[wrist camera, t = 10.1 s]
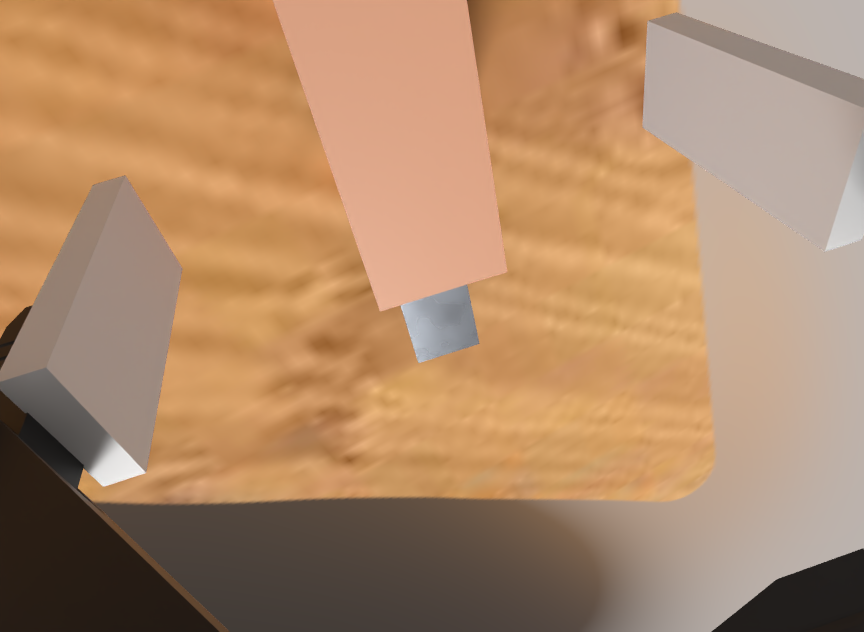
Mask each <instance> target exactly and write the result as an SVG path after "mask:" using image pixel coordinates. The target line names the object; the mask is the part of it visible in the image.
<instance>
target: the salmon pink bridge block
mask: <svg viewBox="0 0 864 632" xmlns="http://www.w3.org/2000/svg"><path fill="white" fill-rule="evenodd" d="M273 3H274V6H275V8H276V11H277V14H278V17H279V20H280V23H281V26H282V29H283V32H284V34H285V37H286V40H287V43H288V46H289V49H290V52H291V55H292V58H293V61H294V63H295V66H296V69H297V72H298V75H299V78H300V81H301V84H302V87H303V90H304V92H305V95H306V98H307V101H308V104H309V107H310V110H311V113H312V116H313V119H314V121H315V124H316V127H317V130H318V133H319V136H320V139H321V142H322V145H323V147H324V150H325V153H326V156H327V159H328V162H329V165H330V168H331V171H332V174H333V176H334V179H335V182H336V185H337V188H338V191H339V194H340V197H341V200H342V203H343V205H344V208H345V211H346V214H347V217H348V220H349V223H350V226H351V229H352V231H353V234H354V237H355V240H356V243H357V246H358V249H359V252H360V255H361V258H362V260H363V263H364V266H365V269H366V272H367V275H368V278H369V281H370V284H371V287H372V289H373V292H374V295H375V298H376V301H377V304H378V307H379V310H380V311H383V310H387V309H390V308H393V307H396V306H399V305H403V304H406V303H409V302H412V301H415V300H419V299H422V298H425V297H428V296H432V295H435V294H438V293H441V292H444V291H448V290H451V289H454V288H457V287H461V286H464V285H467V284H470V283H473V282H477V281H480V280H483V279H486V278H490V277H493V276H496V275H499V274H502V273H506V272H507V267H506V260H505V254H504V247H503V240H502V233H501V227H500V220H499V213H498V206H497V200H496V193H495V186H494V180H493V173H492V166H491V159H490V153H489V146H488V139H487V132H486V126H485V119H484V112H483V106H482V99H481V92H480V85H479V79H478V72H477V65H476V58H475V52H474V45H473V38H472V32H471V25H470V18H469V11H468V5H467V0H273Z"/></svg>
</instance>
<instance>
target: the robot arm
mask: <svg viewBox="0 0 864 632" xmlns="http://www.w3.org/2000/svg"><path fill="white" fill-rule="evenodd" d="M643 128H644V129H646V130H647V131H649V132H650V133H652V134H653V135H654V136H656V137H657V138H659V139H660V140H662V141H663V142H665V143H666V144H668V145H669V146H671V147H672V148H674V149H675V150H676V151H678V152H679V153H681V154H682V155H684V156H685V157H687V158H688V159H690V160H691V161H693V162H694V163H696V164H697V165H698V166H700V167H701V168H703V169H704V170H706V171H707V172H709V173H710V174H712V175H713V176H715V177H716V178H718V179H719V180H721V181H722V182H724V183H725V184H727V185H728V186H729V187H731V188H732V189H734V190H735V191H737V192H738V193H740V194H741V195H742V196H744V197H745V198H747V199H748V200H750V201H751V202H753V203H754V204H756V205H757V206H759V207H760V208H762V209H763V210H765V211H766V212H768V213H769V214H770V215H772V216H773V217H775V218H776V219H778V220H779V221H781V222H782V223H784V224H785V225H787V226H788V227H789V228H791V229H792V230H794V231H795V232H797V233H798V234H800V235H801V236H803V237H804V238H806V239H807V240H808V241H810V242H811V243H813V244H814V245H816V246H817V247H819V248H820V249H822V250H823V251H828V250H832V249H835V248H838V247H841V246H844V245H847V244H850V243H853V242H856V241H859V240H862V237H863V235H864V79H862V78H860V77H857V76H854V75H851V74H848V73H845V72H842V71H840V70H837V69H834V68H831V67H828V66H826V65H823V64H820V63H817V62H814V61H812V60H809V59H806V58H803V57H800V56H798V55H794V54H791V53H789V52H786V51H783V50H780V49H778V48H775V47H772V46H769V45H767V44H764V43H761V42H758V41H755V40H752V39H750V38H747V37H744V36H741V35H738V34H736V33H733V32H730V31H727V30H724V29H721V28H718V27H716V26H713V25H710V24H707V23H705V22H702V21H699V20H696V19H693V18H690V17H687V16H685V15H682V14H679V13H673V14H670V15H666V16H663V17H660V18H656V19H653V20H649V21H648V23H647V44H646V65H645V86H644V107H643ZM181 274H182V267H181V265H180V264H179V262H178V260H177V259H176V257H175V255H174V254H173V252H172V251H171V249H170V247H169V246H168V244H167V242H166V241H165V239H164V238H163V236H162V234H161V233H160V231H159V229H158V228H157V226H156V224H155V223H154V221H153V220H152V218H151V216H150V215H149V213H148V211H147V210H146V208H145V207H144V205H143V203H142V202H141V200H140V198H139V197H138V195H137V193H136V192H135V190H134V189H133V187H132V185H131V184H130V182H129V180H128V179H127V177H126V176H122V177H118V178H115V179H111V180H108V181H105V182H101V183H98V184H94V185H93V186H92V188H91V190H90V192H89V194H88V196H87V198H86V200H85V202H84V204H83V206H82V208H81V210H80V212H79V214H78V216H77V218H76V220H75V222H74V224H73V226H72V228H71V230H70V232H69V234H68V236H67V238H66V240H65V242H64V244H63V246H62V248H61V250H60V252H59V254H58V256H57V258H56V260H55V262H54V264H53V266H52V268H51V270H50V272H49V274H48V276H47V278H46V280H45V282H44V284H43V286H42V288H41V290H40V292H39V294H38V296H37V298H36V300H35V302H34V304H33V305H32V306H29V307H26V308H25V309H24V310H23V311H22V312H21V313H20V314H19V315H18V316H17V317H16V318H15V319H14V320H13V321H12V322H11V323H10V324H9V325H8V326H7V327H6V329H5V331H4V333H3V335H2V337H1V338H0V632H230V631H229V630H228V629H227V628H225V627H224V626H223V625H222V624H221V623H220V622H219V621H218V620H217V619H216V618H215V617H214V616H213V615H212V614H211V613H209V611H208V610H206V609H205V608H204V607H203V606H202V605H201V604H200V603H199V602H198V601H197V600H196V599H195V598H194V597H193V596H192V595H191V594H190V593H188V592H187V591H186V590H185V589H184V588H183V587H182V586H181V585H180V584H179V583H178V582H177V581H176V580H175V579H174V578H173V577H172V576H170V575H169V574H168V573H167V572H166V571H165V570H164V569H163V568H162V567H161V566H160V565H159V564H158V563H157V562H156V561H155V560H154V559H152V558H151V557H150V556H149V555H148V554H147V553H146V552H145V551H144V550H143V549H142V548H141V547H140V546H139V545H138V544H137V543H136V542H135V541H134V540H132V539H131V538H130V537H129V536H128V535H127V534H126V533H125V532H124V531H123V530H122V529H121V528H120V527H119V526H118V525H117V524H116V523H115V522H114V521H112V520H111V519H110V518H109V517H108V516H107V515H106V514H105V513H104V512H103V511H102V510H101V509H100V508H99V507H98V506H97V505H96V504H95V503H93V502H92V501H91V500H90V499H89V498H88V497H87V496H86V495H85V494H84V493H82V492H81V491H80V490H79V489H78V485H79V481H80V478H81V474H82V471H83V468H84V469H85V470H86V471H87V472H88V473H89V474H90V475H91V476H92V477H94V478H95V479H96V480H97V481H98V482H99V483H100V484H101V485H102V486H103V487H104V486H107V485H110V484H113V483H116V482H119V481H122V480H126V479H129V478H132V477H135V476H138V475H141V474H144V473H146V470H147V465H148V459H149V453H150V448H151V442H152V437H153V431H154V425H155V420H156V414H157V408H158V403H159V397H160V392H161V386H162V380H163V375H164V369H165V363H166V358H167V352H168V347H169V341H170V335H171V330H172V324H173V319H174V313H175V307H176V302H177V296H178V290H179V285H180V279H181ZM712 632H864V549H860V550H857V551H855V552H852V553H849V554H846V555H843V556H841V557H838V558H836V559H832V560H829V561H827V562H824V563H821V564H818V565H816V566H813V567H810V568H807V569H804V570H802V571H799V572H796V573H794V574H791V575H788V576H785V577H782V578H779V579H777V580H775V581H774V582H773V583H772V584H770V585H769V586H768V587H767V588H766V589H764V590H763V591H762V592H760V593H759V594H758V595H757V596H756V597H754V598H753V599H752V600H751V601H749V602H748V603H747V604H746V605H744V606H743V607H742V608H741V609H739V610H738V611H737V612H736V613H734V614H733V615H732V616H731V617H729V618H728V619H727V620H726V621H724V622H723V623H722V624H721V625H720V626H718V627H717V628H716V629H714V630H713V631H712Z"/></svg>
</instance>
